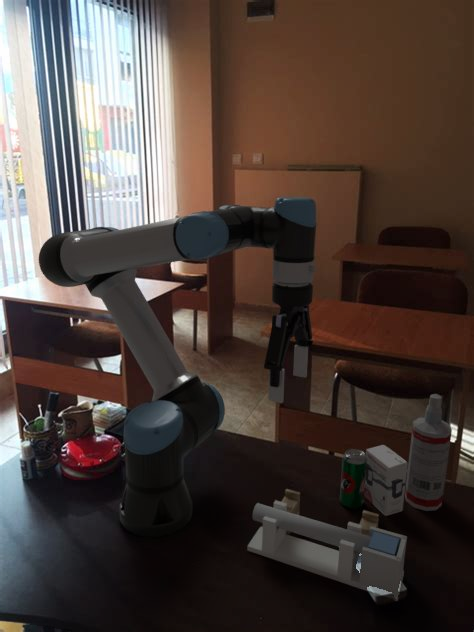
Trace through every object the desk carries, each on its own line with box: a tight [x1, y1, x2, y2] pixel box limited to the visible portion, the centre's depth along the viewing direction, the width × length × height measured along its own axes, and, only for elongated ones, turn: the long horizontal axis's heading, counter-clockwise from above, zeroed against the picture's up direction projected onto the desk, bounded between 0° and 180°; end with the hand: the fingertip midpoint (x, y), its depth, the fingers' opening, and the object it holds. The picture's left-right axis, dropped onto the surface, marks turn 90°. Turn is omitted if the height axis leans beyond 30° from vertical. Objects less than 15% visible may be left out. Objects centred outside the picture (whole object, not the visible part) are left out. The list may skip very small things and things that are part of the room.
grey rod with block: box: [252, 502, 399, 557], centre depth 98 cm, size 26×4×3 cm, turn 64°
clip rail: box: [246, 499, 408, 602], centre depth 99 cm, size 28×7×8 cm, turn 64°
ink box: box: [364, 444, 409, 517], centre depth 116 cm, size 8×5×12 cm, turn 23°
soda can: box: [339, 448, 367, 509], centre depth 116 cm, size 5×5×12 cm
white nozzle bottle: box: [404, 393, 453, 512], centre depth 115 cm, size 8×8×25 cm
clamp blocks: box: [280, 488, 380, 536], centre depth 106 cm, size 19×6×6 cm, turn 64°
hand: (288, 388), depth 106 cm, fingers open, 13 cm apart
